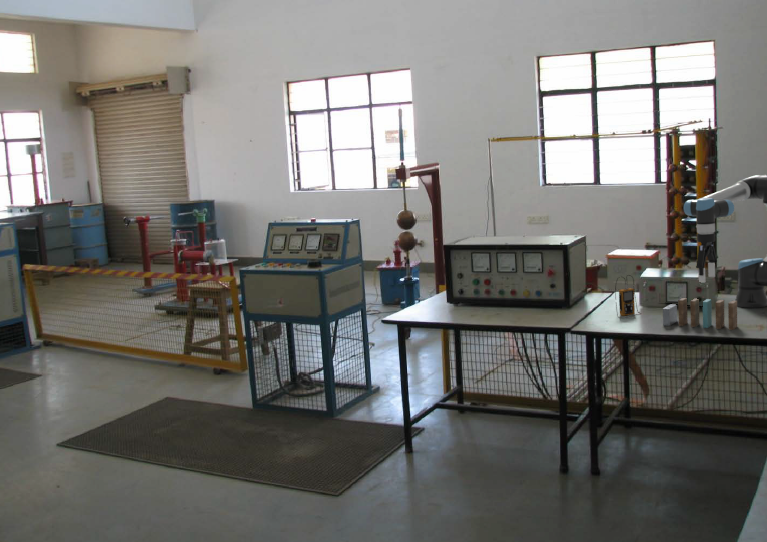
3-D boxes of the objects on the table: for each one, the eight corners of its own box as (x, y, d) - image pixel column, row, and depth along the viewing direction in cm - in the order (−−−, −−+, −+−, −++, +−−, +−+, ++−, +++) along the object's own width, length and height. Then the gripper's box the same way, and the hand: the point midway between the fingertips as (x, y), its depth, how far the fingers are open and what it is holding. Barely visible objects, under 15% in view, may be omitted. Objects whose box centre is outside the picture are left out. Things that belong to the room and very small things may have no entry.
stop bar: (677, 321, 373) (676, 304, 372) (669, 325, 366) (669, 309, 364) (670, 320, 375) (670, 304, 374) (663, 325, 367) (662, 308, 366)
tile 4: (699, 324, 365) (699, 298, 363) (695, 326, 360) (694, 301, 358) (695, 323, 366) (694, 298, 364) (690, 326, 361) (690, 300, 359)
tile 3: (711, 325, 361) (711, 299, 359) (707, 327, 357) (707, 301, 355) (707, 324, 362) (706, 299, 360) (703, 327, 358) (702, 301, 356)
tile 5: (687, 323, 368) (687, 297, 366) (683, 325, 364) (682, 300, 362) (683, 322, 369) (682, 297, 367) (678, 325, 365) (678, 300, 363)
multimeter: (626, 320, 383) (625, 279, 380) (613, 316, 393) (612, 277, 390) (651, 315, 389) (649, 275, 386) (637, 312, 398) (636, 273, 395)
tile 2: (724, 325, 358) (724, 300, 356) (720, 328, 353) (720, 302, 351) (719, 325, 359) (719, 299, 357) (715, 328, 354) (715, 302, 352)
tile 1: (737, 326, 354) (737, 300, 352) (733, 329, 350) (733, 303, 348) (732, 326, 355) (732, 300, 353) (728, 329, 351) (728, 303, 349)
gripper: (706, 229, 365) (707, 274, 368) (687, 236, 346) (689, 284, 349) (723, 229, 360) (724, 274, 363) (705, 237, 341) (706, 285, 344)
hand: (707, 279), depth 356 cm, fingers open, 13 cm apart
